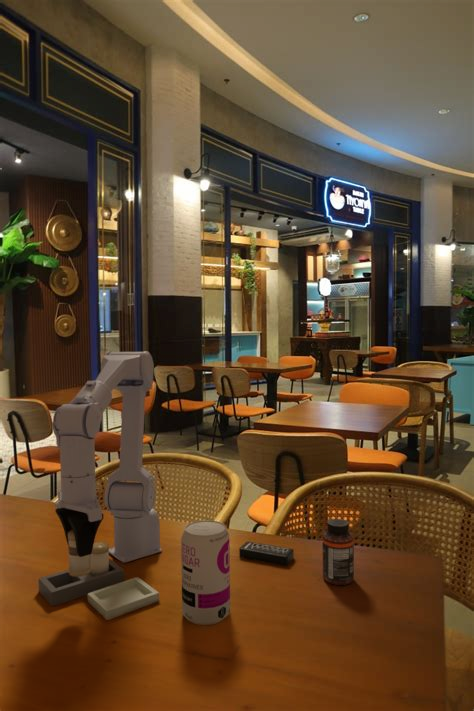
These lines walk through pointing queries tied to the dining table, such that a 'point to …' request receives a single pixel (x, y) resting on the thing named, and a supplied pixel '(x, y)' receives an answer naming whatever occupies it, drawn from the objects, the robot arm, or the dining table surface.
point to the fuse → (99, 558)
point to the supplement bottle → (338, 553)
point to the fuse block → (77, 584)
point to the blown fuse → (77, 559)
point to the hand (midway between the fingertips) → (79, 551)
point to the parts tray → (122, 598)
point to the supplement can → (205, 572)
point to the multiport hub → (266, 553)
